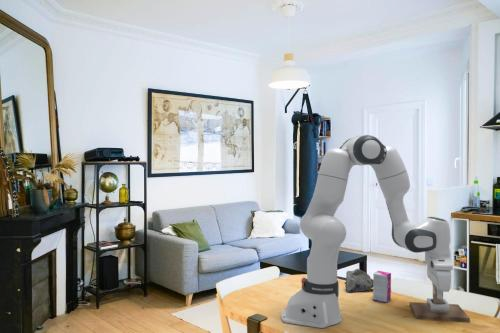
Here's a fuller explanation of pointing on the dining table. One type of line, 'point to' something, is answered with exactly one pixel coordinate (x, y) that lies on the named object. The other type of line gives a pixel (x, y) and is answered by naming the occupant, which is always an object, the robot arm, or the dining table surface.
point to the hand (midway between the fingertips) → (437, 296)
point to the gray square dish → (438, 306)
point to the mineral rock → (358, 281)
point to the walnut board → (424, 313)
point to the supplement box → (381, 286)
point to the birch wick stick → (435, 299)
